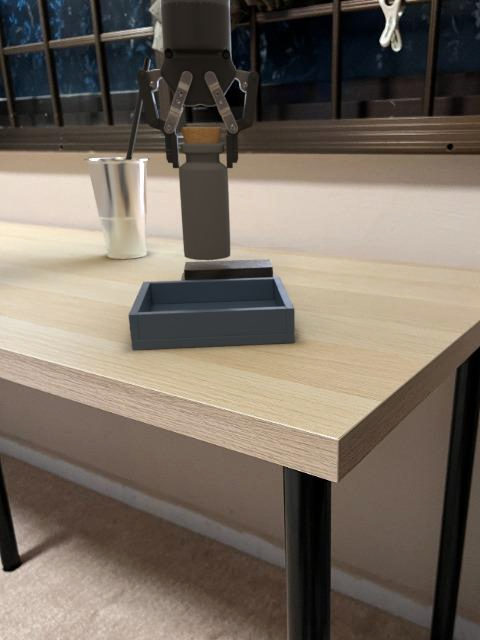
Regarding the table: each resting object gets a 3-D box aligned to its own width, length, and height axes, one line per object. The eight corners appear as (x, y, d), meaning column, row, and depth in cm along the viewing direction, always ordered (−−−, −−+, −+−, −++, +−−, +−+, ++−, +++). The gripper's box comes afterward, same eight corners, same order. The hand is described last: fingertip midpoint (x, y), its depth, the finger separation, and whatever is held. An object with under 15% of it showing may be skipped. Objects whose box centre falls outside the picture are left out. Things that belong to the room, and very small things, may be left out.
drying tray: (132, 350, 58) (128, 314, 57) (146, 311, 70) (143, 281, 69) (294, 342, 60) (294, 308, 58) (280, 306, 72) (280, 276, 71)
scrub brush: (181, 298, 76) (179, 270, 74) (183, 287, 81) (181, 261, 80) (277, 295, 77) (277, 267, 75) (273, 284, 82) (272, 258, 81)
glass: (166, 248, 109) (150, 58, 97) (158, 260, 98) (139, 49, 87) (105, 249, 108) (81, 58, 96) (90, 261, 98) (61, 49, 86)
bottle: (216, 250, 81) (210, 127, 75) (239, 257, 76) (235, 127, 71) (176, 254, 77) (167, 127, 72) (198, 262, 73) (190, 127, 67)
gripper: (123, -5, 62) (138, 170, 69) (263, -1, 64) (265, 169, 70) (132, 9, 69) (145, 166, 76) (258, 12, 71) (260, 166, 77)
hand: (203, 167), depth 73 cm, fingers closed on bottle, 5 cm apart
